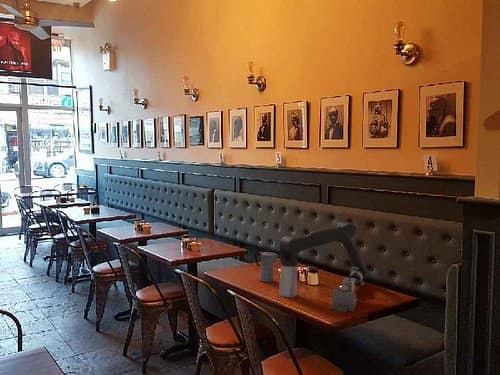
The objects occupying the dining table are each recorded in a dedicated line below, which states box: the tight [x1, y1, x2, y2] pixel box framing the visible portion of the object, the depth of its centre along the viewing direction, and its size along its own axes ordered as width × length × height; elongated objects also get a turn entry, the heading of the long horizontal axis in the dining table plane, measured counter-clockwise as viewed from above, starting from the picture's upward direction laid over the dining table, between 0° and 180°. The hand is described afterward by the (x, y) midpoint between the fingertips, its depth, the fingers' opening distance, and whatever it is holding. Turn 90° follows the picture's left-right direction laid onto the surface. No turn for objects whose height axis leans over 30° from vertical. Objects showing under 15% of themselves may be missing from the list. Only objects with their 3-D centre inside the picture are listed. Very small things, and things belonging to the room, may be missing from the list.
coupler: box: [331, 284, 357, 313], centre depth 244 cm, size 10×12×12 cm
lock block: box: [341, 276, 355, 293], centre depth 256 cm, size 5×10×12 cm, turn 159°
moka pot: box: [253, 249, 279, 283], centre depth 295 cm, size 10×15×20 cm, turn 81°
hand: (350, 285), depth 263 cm, fingers closed
